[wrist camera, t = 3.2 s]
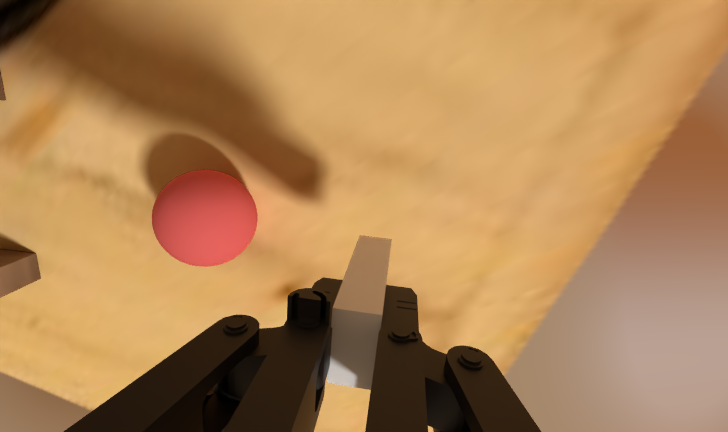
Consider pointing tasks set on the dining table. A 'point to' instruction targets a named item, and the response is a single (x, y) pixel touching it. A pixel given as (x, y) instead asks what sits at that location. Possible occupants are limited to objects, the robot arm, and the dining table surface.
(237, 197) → the ball
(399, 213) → the dining table surface
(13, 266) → the bridge
